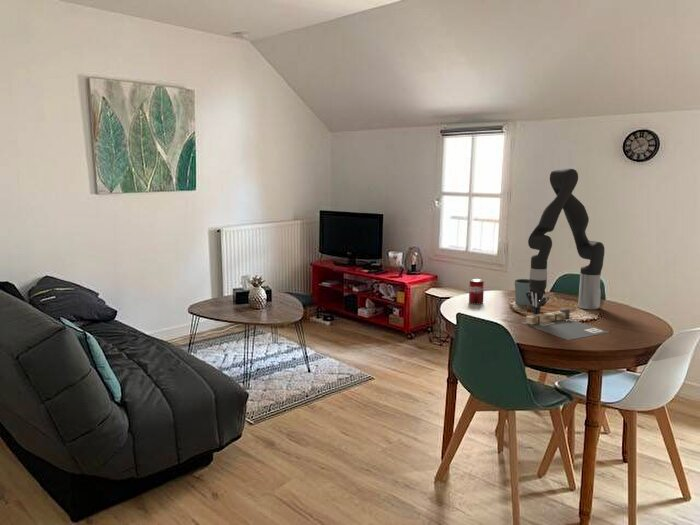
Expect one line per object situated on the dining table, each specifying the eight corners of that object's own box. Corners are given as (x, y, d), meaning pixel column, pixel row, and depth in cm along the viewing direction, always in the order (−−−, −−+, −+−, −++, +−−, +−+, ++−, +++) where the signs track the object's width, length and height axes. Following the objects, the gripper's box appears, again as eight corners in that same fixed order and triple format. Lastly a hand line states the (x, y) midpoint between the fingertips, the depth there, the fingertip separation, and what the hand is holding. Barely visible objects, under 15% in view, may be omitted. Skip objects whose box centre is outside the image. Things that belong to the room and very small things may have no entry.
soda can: (483, 305, 274) (484, 282, 272) (468, 304, 276) (469, 281, 274) (482, 301, 281) (483, 279, 279) (468, 301, 283) (469, 278, 281)
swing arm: (564, 316, 251) (564, 307, 250) (571, 318, 247) (572, 309, 246) (525, 322, 241) (525, 313, 241) (532, 324, 237) (532, 316, 237)
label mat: (560, 316, 253) (560, 315, 253) (610, 332, 228) (610, 331, 228) (519, 322, 243) (519, 322, 243) (567, 340, 218) (567, 339, 218)
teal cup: (536, 306, 271) (538, 282, 269) (516, 306, 271) (517, 283, 269) (530, 301, 281) (531, 278, 279) (511, 301, 281) (512, 278, 279)
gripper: (555, 279, 241) (553, 317, 244) (534, 274, 253) (532, 310, 256) (542, 281, 238) (540, 319, 241) (521, 276, 250) (520, 312, 253)
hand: (536, 314), depth 249 cm, fingers closed
